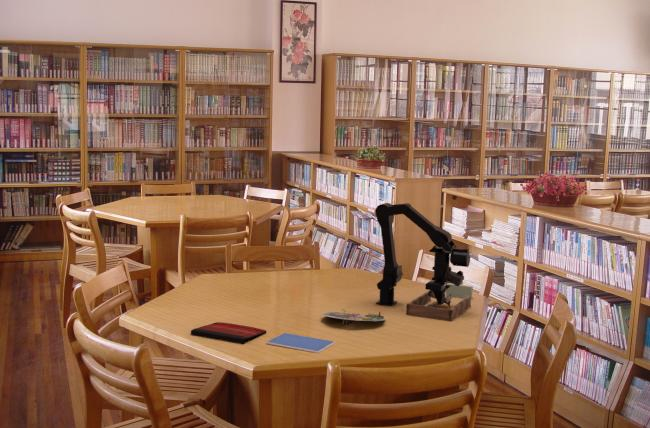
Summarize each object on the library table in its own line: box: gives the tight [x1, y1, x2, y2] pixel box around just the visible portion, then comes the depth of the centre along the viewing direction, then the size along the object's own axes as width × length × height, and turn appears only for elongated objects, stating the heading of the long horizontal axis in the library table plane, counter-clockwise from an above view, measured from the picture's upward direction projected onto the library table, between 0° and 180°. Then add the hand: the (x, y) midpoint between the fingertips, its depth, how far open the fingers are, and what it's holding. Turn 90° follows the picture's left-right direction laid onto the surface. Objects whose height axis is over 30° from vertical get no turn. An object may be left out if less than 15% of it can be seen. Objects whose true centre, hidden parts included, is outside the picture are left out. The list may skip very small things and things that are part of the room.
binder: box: [190, 322, 267, 345], centre depth 263 cm, size 16×2×21 cm
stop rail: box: [445, 282, 474, 300], centre depth 321 cm, size 2×10×5 cm, turn 64°
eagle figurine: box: [427, 290, 452, 308], centre depth 305 cm, size 8×7×9 cm
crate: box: [405, 290, 472, 322], centre depth 299 cm, size 25×17×4 cm
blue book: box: [266, 332, 336, 354], centre depth 253 cm, size 19×13×1 cm, turn 64°
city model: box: [322, 308, 387, 328], centre depth 282 cm, size 25×23×6 cm
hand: (439, 304), depth 300 cm, fingers closed
